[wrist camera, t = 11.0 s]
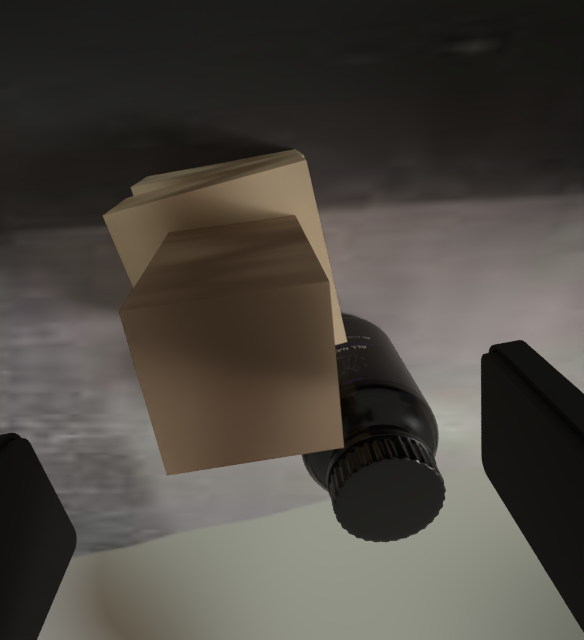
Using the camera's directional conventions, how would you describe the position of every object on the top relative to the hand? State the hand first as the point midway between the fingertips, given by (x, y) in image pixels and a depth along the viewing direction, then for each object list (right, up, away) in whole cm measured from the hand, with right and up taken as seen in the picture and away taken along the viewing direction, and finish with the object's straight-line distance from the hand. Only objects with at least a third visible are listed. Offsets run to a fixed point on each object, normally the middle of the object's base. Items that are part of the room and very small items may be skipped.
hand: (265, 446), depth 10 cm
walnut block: (-1, +4, +10) cm, 11 cm away
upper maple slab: (-2, +6, +13) cm, 15 cm away
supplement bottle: (+4, 0, +21) cm, 21 cm away
